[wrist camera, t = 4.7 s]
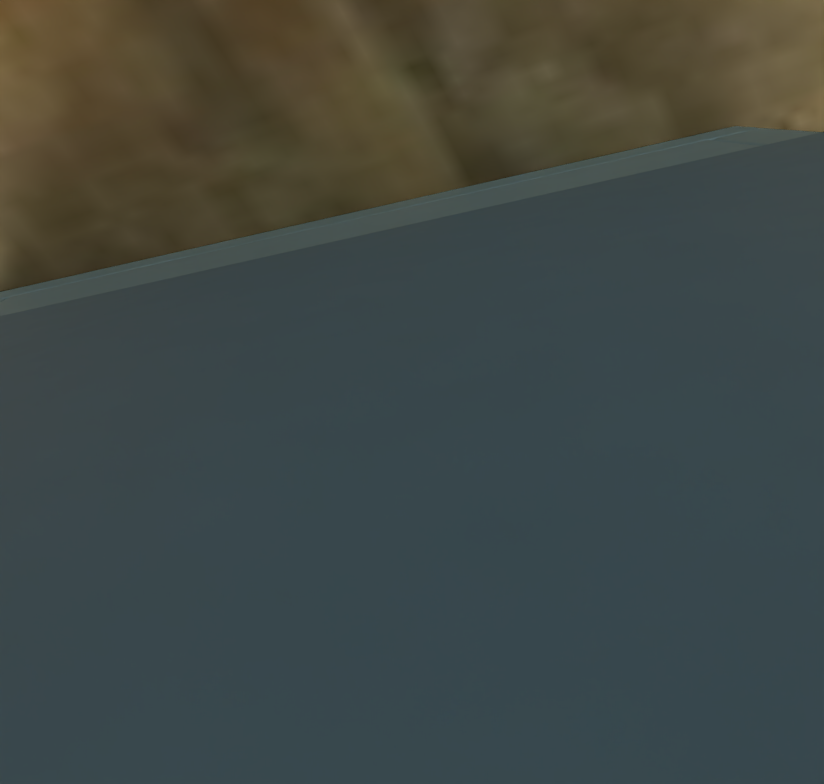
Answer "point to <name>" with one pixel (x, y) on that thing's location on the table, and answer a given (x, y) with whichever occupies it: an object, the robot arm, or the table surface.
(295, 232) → the cooler
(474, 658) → the lid
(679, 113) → the table surface
